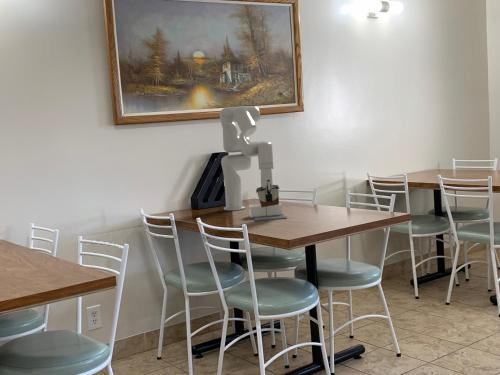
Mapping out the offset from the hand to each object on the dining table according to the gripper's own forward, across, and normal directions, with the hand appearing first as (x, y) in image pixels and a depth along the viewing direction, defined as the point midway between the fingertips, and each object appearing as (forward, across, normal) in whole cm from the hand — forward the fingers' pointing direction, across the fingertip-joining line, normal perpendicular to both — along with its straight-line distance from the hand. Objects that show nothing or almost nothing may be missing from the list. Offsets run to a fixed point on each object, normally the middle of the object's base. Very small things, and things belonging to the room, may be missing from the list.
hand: (268, 200), depth 328 cm
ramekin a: (+9, -8, -5) cm, 13 cm away
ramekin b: (+9, -8, +4) cm, 13 cm away
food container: (+3, -1, 0) cm, 3 cm away
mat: (+9, 0, 0) cm, 9 cm away
